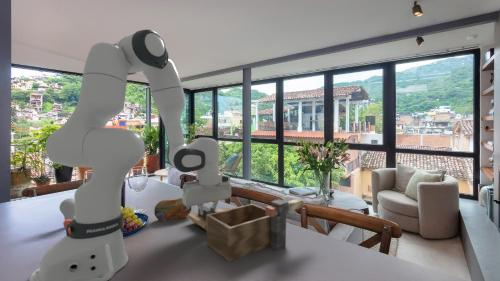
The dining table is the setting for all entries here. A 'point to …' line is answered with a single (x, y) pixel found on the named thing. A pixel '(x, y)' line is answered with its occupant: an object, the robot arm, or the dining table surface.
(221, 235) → the toolbox
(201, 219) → the lid
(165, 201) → the tin
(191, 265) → the dining table surface
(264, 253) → the dining table surface
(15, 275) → the dining table surface
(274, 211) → the light wooden bar
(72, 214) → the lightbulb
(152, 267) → the dining table surface
